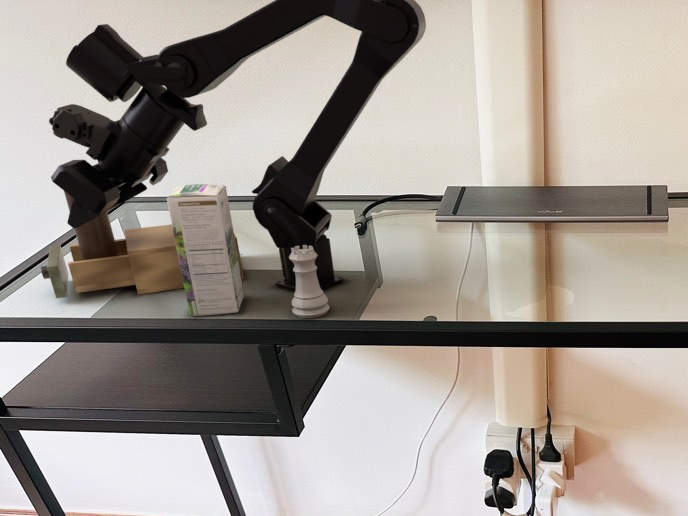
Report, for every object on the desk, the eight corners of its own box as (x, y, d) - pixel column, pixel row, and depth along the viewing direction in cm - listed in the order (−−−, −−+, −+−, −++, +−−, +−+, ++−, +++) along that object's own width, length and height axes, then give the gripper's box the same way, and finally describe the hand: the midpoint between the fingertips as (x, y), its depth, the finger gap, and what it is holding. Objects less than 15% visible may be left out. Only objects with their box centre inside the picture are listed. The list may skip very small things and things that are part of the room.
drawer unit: (138, 294, 106) (127, 251, 104) (134, 269, 115) (124, 229, 113) (244, 279, 111) (236, 237, 109) (233, 256, 120) (225, 217, 118)
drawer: (45, 300, 102) (35, 268, 100) (48, 276, 110) (39, 247, 108) (162, 283, 108) (155, 253, 106) (157, 262, 116) (150, 233, 114)
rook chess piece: (320, 320, 98) (311, 255, 94) (285, 317, 99) (275, 252, 95) (336, 307, 102) (328, 243, 98) (302, 304, 102) (293, 241, 99)
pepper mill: (125, 258, 108) (104, 172, 103) (95, 266, 105) (71, 179, 100) (107, 252, 110) (85, 169, 105) (77, 261, 107) (52, 175, 102)
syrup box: (198, 300, 104) (173, 184, 97) (246, 297, 105) (225, 182, 98) (189, 317, 99) (163, 196, 92) (241, 313, 100) (218, 193, 93)
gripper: (122, 72, 106) (61, 161, 111) (44, 90, 89) (-24, 194, 95) (196, 135, 109) (133, 218, 115) (134, 164, 93) (64, 259, 98)
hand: (80, 221), depth 105 cm, fingers closed on pepper mill, 4 cm apart
